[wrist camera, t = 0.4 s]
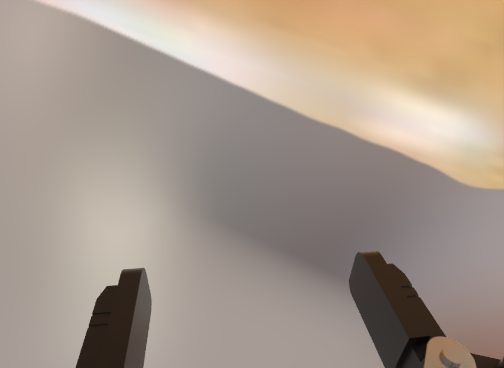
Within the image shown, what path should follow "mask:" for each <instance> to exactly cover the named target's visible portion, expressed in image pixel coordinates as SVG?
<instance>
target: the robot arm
mask: <svg viewBox="0 0 504 368" xmlns="http://www.w3.org/2000/svg"><path fill="white" fill-rule="evenodd" d="M349 286H350V291H351V294H352V297H353V299H354V301H355V303H356V305H357V308H358V310H359V312H360V314H361V316H362V319H363V321H364V323H365V325H366V327H367V329H368V332H369V334H370V336H371V338H372V340H373V343H374V345H375V347H376V349H377V351H378V354H379V356H380V358H381V360H382V362H383V364H384V367H385V368H504V357H503V358H502V360H499V359H494V358H490V357H484V356H480V355H475V354H472V353H470V352H469V351H468V350H467V349H466V348H465V347H464V346H462V345H461V344H460V343H458V342H457V341H455V340H453V339H450V338H447V337H446V336H445V335H444V333H443V331H442V330H441V329H440V327H439V325H438V324H437V323H436V321H435V319H434V318H433V316H432V315H431V313H430V312H429V310H428V309H427V307H426V306H425V304H424V303H423V301H422V300H421V298H419V297H418V294H417V292H416V290H415V289H414V288H412V284H411V283H410V281H409V280H408V278H407V277H406V275H405V274H404V273H403V272H402V271H401V270H399V269H398V268H397V267H396V266H395V265H394V264H387V263H386V262H385V260H384V259H383V257H382V255H381V254H380V253H379V252H377V251H371V252H358V253H357V254H356V257H355V261H354V264H353V268H352V271H351V275H350V279H349ZM92 314H93V316H92V317H91V320H90V323H89V328H88V330H87V333H86V336H85V339H84V342H83V346H82V349H81V352H80V355H79V359H78V362H77V365H76V368H143V365H144V358H145V350H146V344H147V337H148V330H149V322H150V315H151V294H150V289H149V284H148V279H147V275H146V271H145V268H138V269H124V270H122V272H121V275H120V279H119V283H118V285H115V286H107V287H106V288H105V289H104V291H103V292H102V293H101V294H100V296H99V297H98V298H97V300H96V303H95V307H94V310H93V313H92Z"/></svg>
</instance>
